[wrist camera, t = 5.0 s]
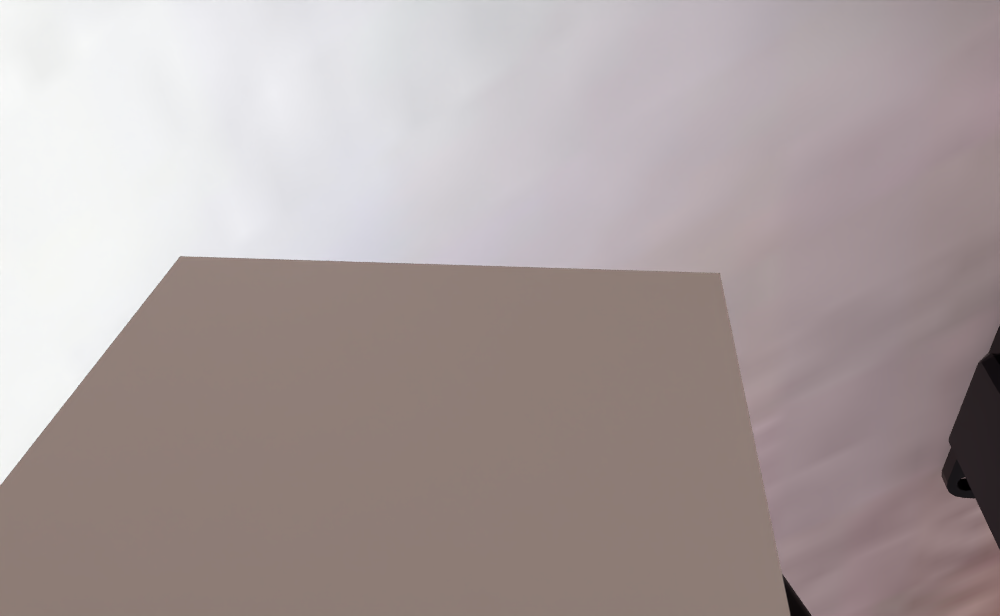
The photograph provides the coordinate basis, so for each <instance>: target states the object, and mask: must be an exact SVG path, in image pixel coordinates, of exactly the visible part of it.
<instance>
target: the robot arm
mask: <svg viewBox="0 0 1000 616" xmlns="http://www.w3.org/2000/svg"><path fill="white" fill-rule="evenodd" d="M949 443H950V445H951V449H950V452H949V454H948V457H947V459H946V462H945V464H944V467H943V469H942V478H943V481H944V483H945V485H946V487H947V489H948V491H949V493H951V494H952V495H954V496H957V497H962V498H976V500H977V503H978V505H979V507H980V509H981V511H982V513H983V515H984V517H985V519H986V522H987V524H988V526H989V528H990V530H991V532H992V534H993V536H994V538H995V541H996V543H997V545H998V547H999V549H1000V326H999V328H998V331H997V333H996V336H995V338H994V341H993V343H992V346H991V348H990V351H989V353H988V354H987V355H986V356H985V357H984V358H983V359H982V360H981V361H980V362H979V363H978V365H977V368H976V370H975V373H974V376H973V378H972V381H971V383H970V386H969V388H968V391H967V393H966V396H965V398H964V401H963V404H962V406H961V409H960V411H959V414H958V416H957V419H956V421H955V424H954V427H953V429H952V432H951V434H950V437H949ZM964 477H966V478H965V479H962V478H964ZM782 577H783V582H784V587H785V591H786V596H787V601H788V606H789V611H790V616H811V614H810V613H809V611H808V610H807V608H806V607H805V606H804V604H803V603H802V601H801V600H800V598H799V597H798V596H797V594H796V593H795V591H794V590H793V588H792V587H791V586H790V584H789V583H788V581H787V580H786V578H785V577H784V576H783V574H782Z"/></svg>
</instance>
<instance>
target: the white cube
mask: <svg viewBox="0 0 1000 616" xmlns="http://www.w3.org/2000/svg"><path fill="white" fill-rule="evenodd" d="M0 616H790V611H789V606H788V601H787V596H786V591H785V587H784V582H783V577H782V572H781V567H780V562H779V558H778V553H777V548H776V543H775V538H774V533H773V528H772V524H771V519H770V514H769V509H768V504H767V499H766V495H765V490H764V485H763V480H762V475H761V470H760V465H759V461H758V456H757V451H756V446H755V441H754V436H753V432H752V427H751V422H750V417H749V412H748V407H747V402H746V398H745V393H744V388H743V383H742V378H741V373H740V369H739V364H738V359H737V354H736V349H735V344H734V340H733V335H732V330H731V325H730V320H729V315H728V310H727V306H726V301H725V296H724V291H723V286H722V281H721V277H720V273H698V272H666V271H633V270H601V269H569V268H537V267H505V266H473V265H441V264H408V263H376V262H344V261H312V260H280V259H248V258H216V257H183V256H180V257H179V259H178V260H177V261H176V262H175V264H174V265H173V266H172V267H171V269H170V270H169V271H168V273H167V274H166V275H165V276H164V278H163V279H162V280H161V281H160V283H159V284H158V285H157V287H156V288H155V289H154V290H153V292H152V293H151V294H150V295H149V297H148V298H147V299H146V301H145V302H144V303H143V304H142V306H141V307H140V308H139V310H138V311H137V312H136V313H135V315H134V316H133V317H132V318H131V320H130V321H129V322H128V324H127V325H126V326H125V327H124V329H123V330H122V331H121V332H120V334H119V335H118V336H117V338H116V339H115V340H114V341H113V343H112V344H111V345H110V346H109V348H108V349H107V350H106V352H105V353H104V354H103V355H102V357H101V358H100V359H99V360H98V362H97V363H96V364H95V366H94V367H93V368H92V369H91V371H90V372H89V373H88V375H87V376H86V377H85V378H84V380H83V381H82V382H81V383H80V385H79V386H78V387H77V389H76V390H75V391H74V392H73V394H72V395H71V396H70V397H69V399H68V400H67V401H66V403H65V404H64V405H63V406H62V408H61V409H60V410H59V411H58V413H57V414H56V415H55V417H54V418H53V419H52V420H51V422H50V423H49V424H48V425H47V427H46V428H45V429H44V431H43V432H42V433H41V434H40V436H39V437H38V438H37V439H36V441H35V442H34V443H33V445H32V446H31V447H30V448H29V450H28V451H27V452H26V454H25V455H24V456H23V457H22V459H21V460H20V461H19V462H18V464H17V465H16V466H15V468H14V469H13V470H12V471H11V473H10V474H9V475H8V476H7V478H6V479H5V480H4V482H3V483H2V484H1V485H0Z"/></svg>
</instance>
